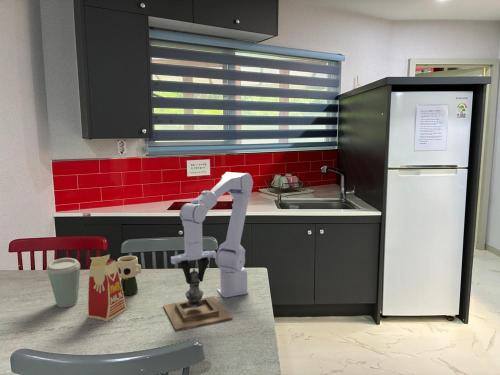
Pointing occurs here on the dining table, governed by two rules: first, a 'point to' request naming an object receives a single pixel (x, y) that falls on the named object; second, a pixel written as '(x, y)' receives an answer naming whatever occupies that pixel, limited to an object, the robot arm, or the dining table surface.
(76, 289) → the disposable coffee cup
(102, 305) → the milk carton
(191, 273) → the salt shaker
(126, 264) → the character mug
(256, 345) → the dining table surface
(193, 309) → the walnut holder
